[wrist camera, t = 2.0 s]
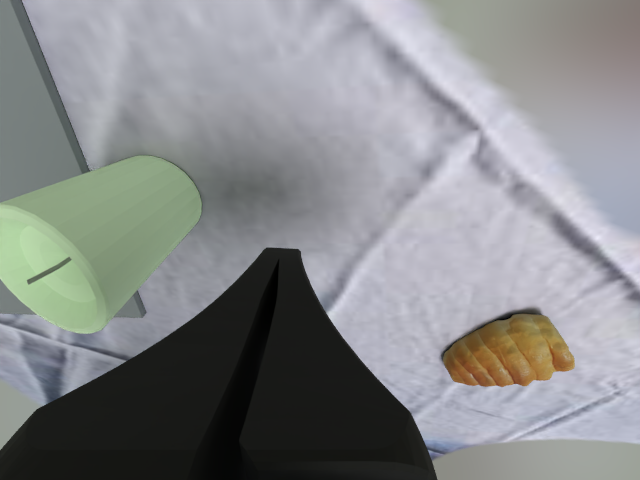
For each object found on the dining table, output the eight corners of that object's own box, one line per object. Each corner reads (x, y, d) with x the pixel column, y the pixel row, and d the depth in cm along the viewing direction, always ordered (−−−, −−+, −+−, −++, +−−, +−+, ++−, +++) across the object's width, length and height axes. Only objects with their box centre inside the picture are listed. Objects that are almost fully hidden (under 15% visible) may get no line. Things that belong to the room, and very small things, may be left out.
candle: (113, 217, 15) (-55, 323, 8) (114, 139, 13) (-120, 192, 6) (196, 243, 16) (109, 355, 9) (209, 175, 14) (108, 256, 7)
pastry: (452, 375, 26) (472, 415, 22) (429, 340, 23) (448, 381, 20) (548, 341, 23) (587, 381, 20) (536, 298, 20) (579, 336, 17)
